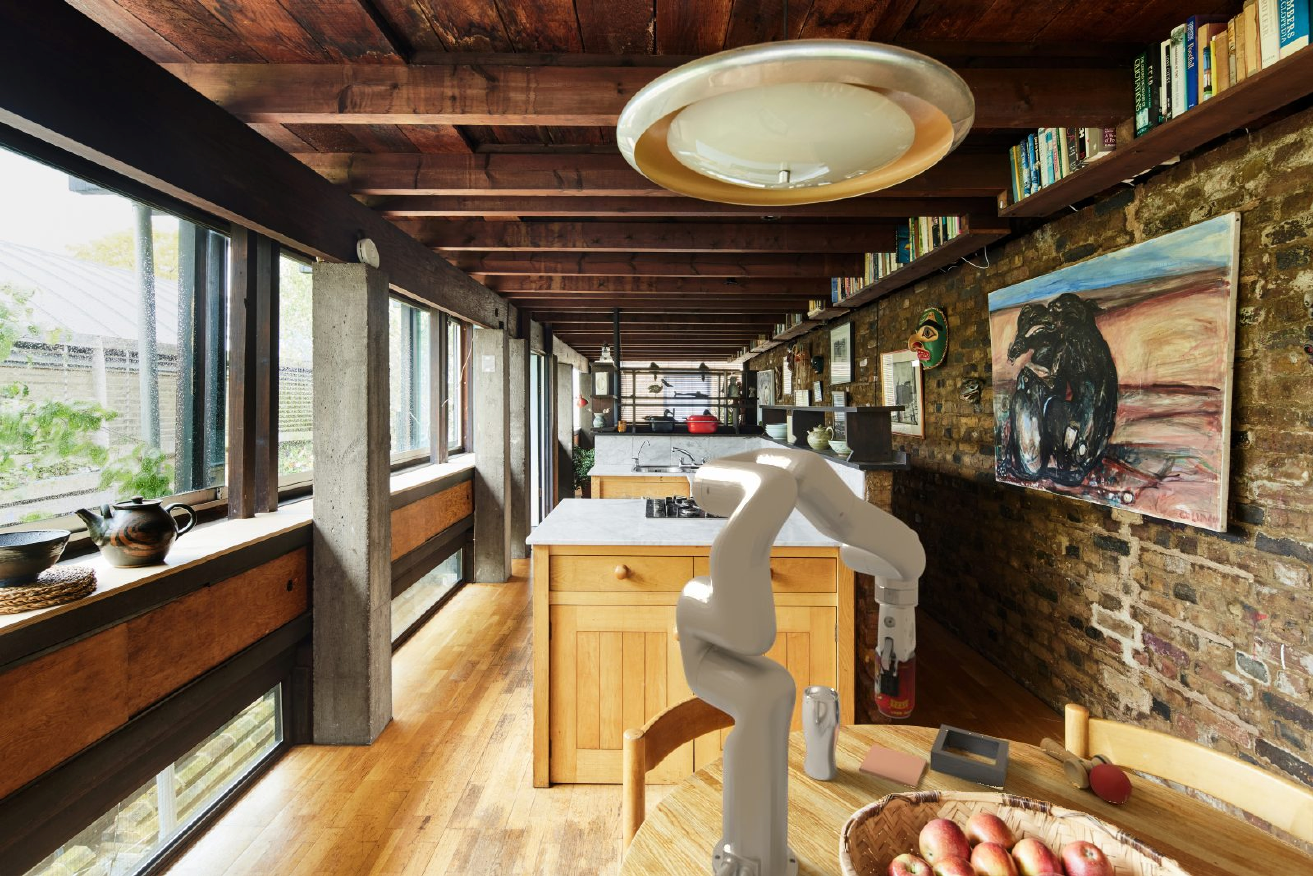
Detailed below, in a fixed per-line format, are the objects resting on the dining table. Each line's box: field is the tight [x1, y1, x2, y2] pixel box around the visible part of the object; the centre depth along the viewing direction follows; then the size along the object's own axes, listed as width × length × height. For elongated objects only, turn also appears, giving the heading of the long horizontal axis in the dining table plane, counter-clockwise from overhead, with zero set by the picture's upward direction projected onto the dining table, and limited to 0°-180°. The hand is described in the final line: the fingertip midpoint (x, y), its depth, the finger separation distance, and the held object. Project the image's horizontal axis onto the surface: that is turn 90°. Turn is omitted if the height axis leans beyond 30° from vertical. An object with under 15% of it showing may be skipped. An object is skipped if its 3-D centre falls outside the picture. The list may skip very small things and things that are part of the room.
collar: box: [929, 723, 1010, 788], centre depth 117 cm, size 12×12×4 cm
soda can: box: [874, 645, 916, 719], centre depth 116 cm, size 7×7×12 cm
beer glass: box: [801, 684, 841, 782], centre depth 115 cm, size 7×7×15 cm
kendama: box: [1040, 737, 1133, 804], centre depth 113 cm, size 8×6×18 cm
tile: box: [858, 743, 928, 787], centre depth 117 cm, size 10×10×1 cm
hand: (894, 686), depth 116 cm, fingers closed on soda can, 7 cm apart
